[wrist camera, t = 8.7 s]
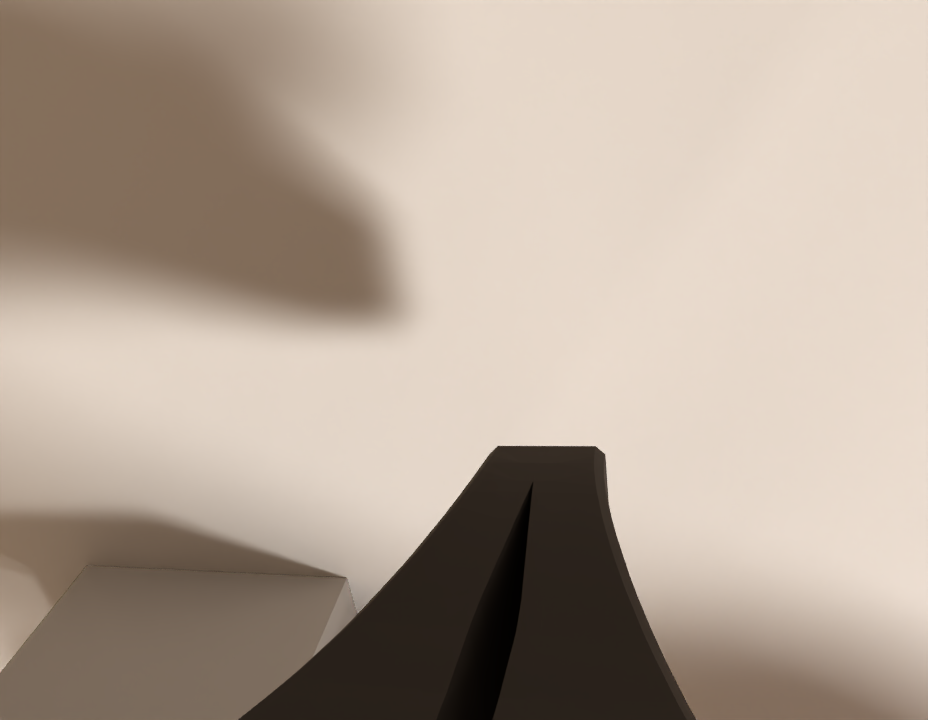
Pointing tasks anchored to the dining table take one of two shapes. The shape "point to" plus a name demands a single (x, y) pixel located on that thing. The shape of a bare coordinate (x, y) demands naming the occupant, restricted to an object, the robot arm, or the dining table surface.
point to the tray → (170, 644)
